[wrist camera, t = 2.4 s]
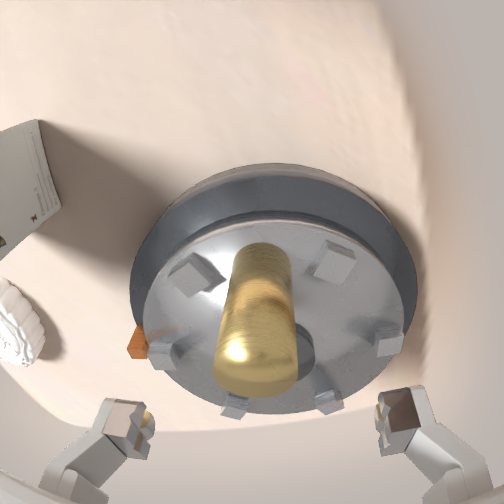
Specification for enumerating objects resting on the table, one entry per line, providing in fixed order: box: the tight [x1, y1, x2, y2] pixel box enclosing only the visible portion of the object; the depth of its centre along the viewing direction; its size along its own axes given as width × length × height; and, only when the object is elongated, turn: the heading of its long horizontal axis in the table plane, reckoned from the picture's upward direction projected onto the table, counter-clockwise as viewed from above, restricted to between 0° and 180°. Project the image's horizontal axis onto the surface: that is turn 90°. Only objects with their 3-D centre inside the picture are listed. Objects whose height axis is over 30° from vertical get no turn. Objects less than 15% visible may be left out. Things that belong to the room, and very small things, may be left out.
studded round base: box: [143, 210, 404, 420], centre depth 18 cm, size 17×17×9 cm
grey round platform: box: [127, 163, 417, 359], centre depth 22 cm, size 20×20×6 cm
